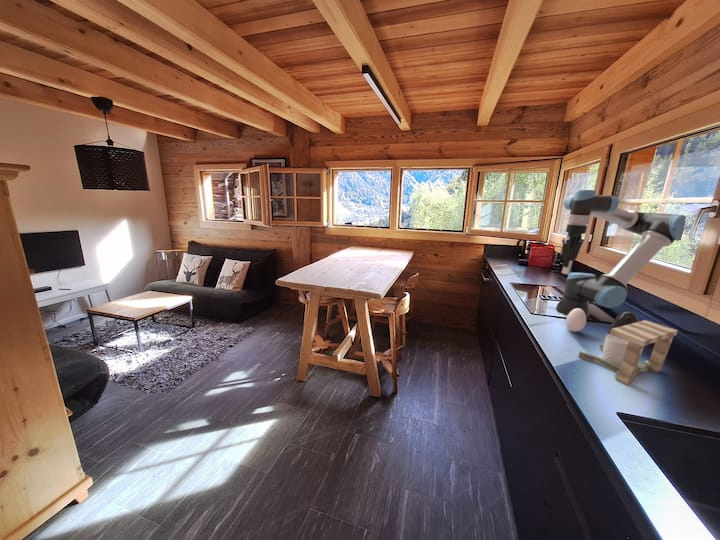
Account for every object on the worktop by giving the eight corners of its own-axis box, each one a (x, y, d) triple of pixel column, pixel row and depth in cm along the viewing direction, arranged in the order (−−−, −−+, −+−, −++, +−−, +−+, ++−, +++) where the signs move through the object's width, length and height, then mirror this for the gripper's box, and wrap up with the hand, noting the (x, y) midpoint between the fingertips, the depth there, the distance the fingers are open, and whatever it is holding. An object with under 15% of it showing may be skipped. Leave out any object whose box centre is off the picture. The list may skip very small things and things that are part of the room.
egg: (562, 330, 136) (567, 307, 133) (566, 326, 141) (572, 304, 138) (580, 336, 131) (587, 312, 128) (584, 332, 136) (590, 309, 133)
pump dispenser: (604, 343, 126) (614, 311, 122) (606, 335, 133) (615, 305, 129) (636, 352, 119) (647, 319, 115) (635, 343, 127) (646, 312, 123)
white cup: (598, 354, 116) (604, 332, 113) (623, 361, 112) (630, 338, 109) (600, 363, 110) (607, 340, 107) (627, 370, 105) (635, 346, 103)
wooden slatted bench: (605, 347, 122) (616, 310, 118) (662, 371, 106) (677, 330, 102) (571, 357, 112) (581, 318, 108) (628, 386, 96) (643, 341, 92)
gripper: (577, 223, 137) (565, 270, 143) (560, 223, 131) (549, 272, 138) (594, 225, 130) (581, 274, 136) (577, 225, 125) (565, 276, 131)
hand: (565, 273), depth 137 cm, fingers closed
